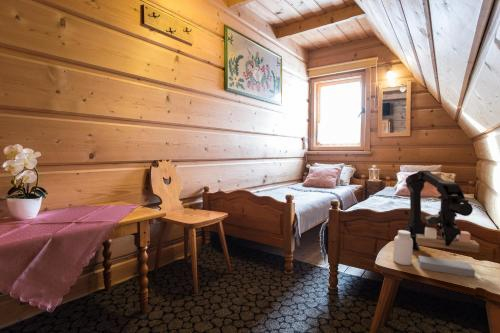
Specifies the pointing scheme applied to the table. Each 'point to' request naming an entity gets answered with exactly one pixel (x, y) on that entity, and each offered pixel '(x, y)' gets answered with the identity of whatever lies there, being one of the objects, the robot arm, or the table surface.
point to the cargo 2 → (464, 237)
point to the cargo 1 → (430, 233)
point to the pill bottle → (403, 248)
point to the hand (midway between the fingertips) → (445, 243)
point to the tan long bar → (445, 243)
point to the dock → (446, 266)
